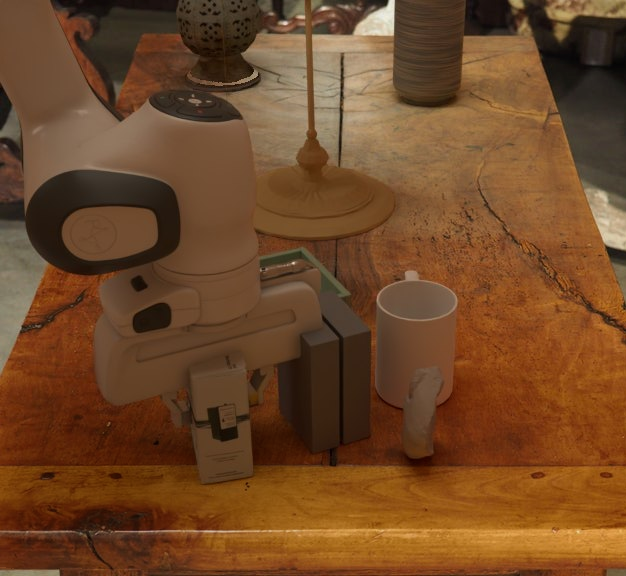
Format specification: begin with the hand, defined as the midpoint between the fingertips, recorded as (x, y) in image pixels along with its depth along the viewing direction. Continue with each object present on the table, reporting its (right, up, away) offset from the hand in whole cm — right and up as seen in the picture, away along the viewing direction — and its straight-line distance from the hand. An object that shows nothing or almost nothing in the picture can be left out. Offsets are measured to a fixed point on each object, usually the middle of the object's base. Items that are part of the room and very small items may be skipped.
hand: (217, 413), depth 97 cm
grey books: (+9, -2, +7) cm, 11 cm away
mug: (+18, +2, +14) cm, 23 cm away
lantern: (-14, +48, +93) cm, 106 cm away
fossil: (+18, -5, +2) cm, 19 cm away
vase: (+22, +44, +86) cm, 99 cm away
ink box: (0, -4, +2) cm, 5 cm away
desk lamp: (+5, +23, +49) cm, 54 cm away
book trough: (-1, +8, +22) cm, 24 cm away
